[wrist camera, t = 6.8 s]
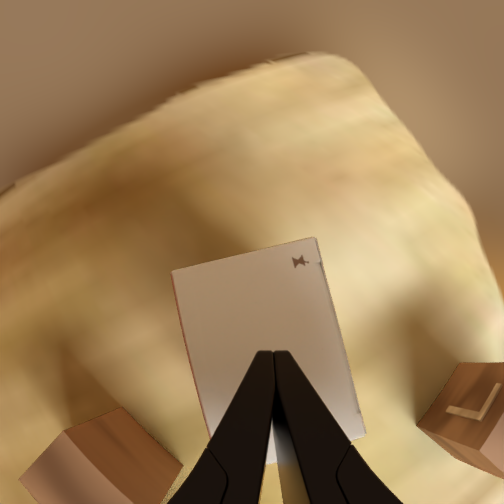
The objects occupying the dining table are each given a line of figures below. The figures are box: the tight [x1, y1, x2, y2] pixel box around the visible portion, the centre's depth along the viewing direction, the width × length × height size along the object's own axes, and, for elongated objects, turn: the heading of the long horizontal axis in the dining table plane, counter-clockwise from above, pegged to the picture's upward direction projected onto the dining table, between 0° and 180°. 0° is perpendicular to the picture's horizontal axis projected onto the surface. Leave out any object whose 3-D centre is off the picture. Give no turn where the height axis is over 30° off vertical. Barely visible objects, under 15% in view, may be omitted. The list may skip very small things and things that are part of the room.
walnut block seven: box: [416, 362, 504, 479], centre depth 15 cm, size 6×6×8 cm
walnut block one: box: [19, 407, 183, 504], centre depth 14 cm, size 6×6×8 cm
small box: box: [170, 237, 366, 465], centre depth 15 cm, size 8×6×10 cm
